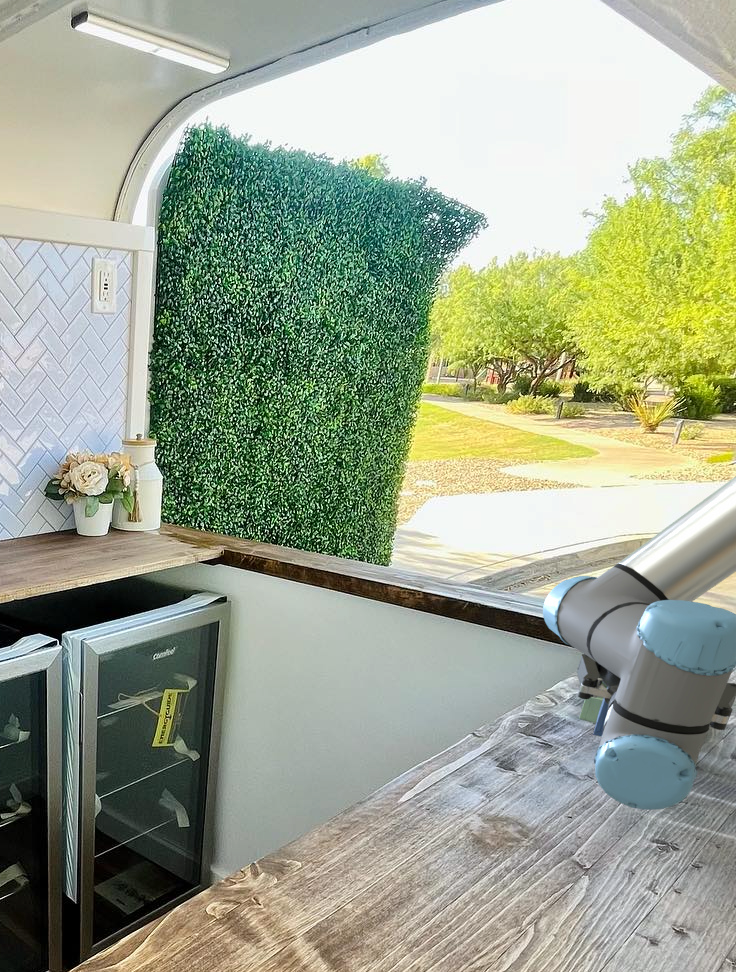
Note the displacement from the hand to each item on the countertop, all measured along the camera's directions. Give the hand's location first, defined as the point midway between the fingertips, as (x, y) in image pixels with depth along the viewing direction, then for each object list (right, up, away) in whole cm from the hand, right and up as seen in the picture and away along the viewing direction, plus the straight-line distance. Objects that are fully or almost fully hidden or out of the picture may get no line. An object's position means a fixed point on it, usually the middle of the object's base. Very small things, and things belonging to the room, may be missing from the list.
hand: (656, 659), depth 100 cm
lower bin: (+5, -9, +11) cm, 15 cm away
